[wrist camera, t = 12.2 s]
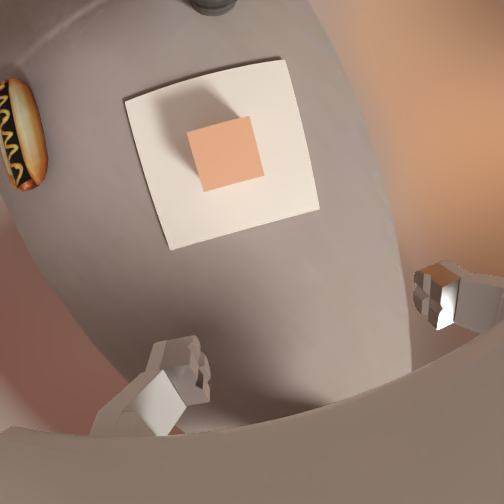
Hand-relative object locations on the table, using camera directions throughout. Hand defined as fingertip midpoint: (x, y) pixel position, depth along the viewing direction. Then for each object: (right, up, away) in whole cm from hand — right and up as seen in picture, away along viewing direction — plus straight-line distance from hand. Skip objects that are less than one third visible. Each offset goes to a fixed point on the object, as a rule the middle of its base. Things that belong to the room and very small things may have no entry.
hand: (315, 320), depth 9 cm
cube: (-5, +12, +16) cm, 21 cm away
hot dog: (-27, +16, +13) cm, 34 cm away
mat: (-5, +12, +17) cm, 21 cm away
